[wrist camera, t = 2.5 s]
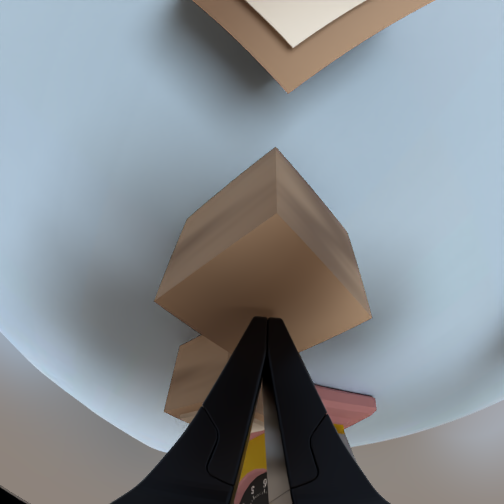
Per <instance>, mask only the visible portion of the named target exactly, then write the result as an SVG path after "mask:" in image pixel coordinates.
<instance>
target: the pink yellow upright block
mask: <svg viewBox="0 0 504 504" xmlns="http://www.w3.org/2000/svg"><path fill="white" fill-rule="evenodd" d="M315 388H316V390H317V392H318V394H319V396H320V398H321V400H322V402H323V404H324V406H325V408H326V410H327V413H326V414H329V416H330V418H331V420H332V422H333V425H334V426H335V428H336V430H337V432H338V434H339V436H340V438H341V440H342V441H343V443H344V444H345V446H346V448H347V449H348V451H349V452H350V454H351V455H352V457H353V458H354V455H353V453H352V450H351V448H350V445H349V443H348V440H347V438H346V435H345V433H344V429H346V428H348V427H350V426H352V425H354V424H355V423H357V422H359V421H361V420H363V419H365V418H367V417H369V416H371V415H372V414H373V413H374V412H375V411H376V402H375V398H373V397H371V396H367V395H361V394H356V393H351V392H346V391H341V390H336V389H331V388H327V387H322V386H318V385H315ZM354 460H355V458H354ZM355 461H356V460H355ZM234 504H269V498H268V481H267V464H266V448H265V431H264V430H263V431H258V432H254V433H251V434H250V439H249V443H248V447H247V451H246V456H245V460H244V464H243V468H242V472H241V476H240V481H239V485H238V489H237V493H236V496H235V500H234Z"/></svg>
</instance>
